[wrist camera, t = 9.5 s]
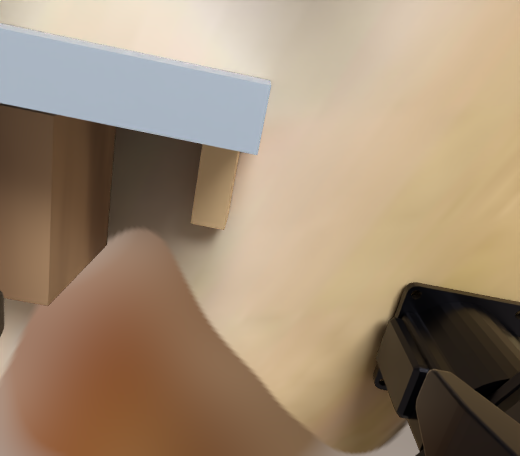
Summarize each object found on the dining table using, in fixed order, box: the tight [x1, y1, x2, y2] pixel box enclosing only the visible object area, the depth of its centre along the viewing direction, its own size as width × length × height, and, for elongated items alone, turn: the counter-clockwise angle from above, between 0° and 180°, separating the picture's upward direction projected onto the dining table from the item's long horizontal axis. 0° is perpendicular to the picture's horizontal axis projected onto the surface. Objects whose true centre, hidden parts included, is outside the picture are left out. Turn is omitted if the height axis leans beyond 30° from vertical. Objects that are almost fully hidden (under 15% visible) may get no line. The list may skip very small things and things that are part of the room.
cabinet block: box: [0, 103, 116, 306], centre depth 17 cm, size 5×7×6 cm
